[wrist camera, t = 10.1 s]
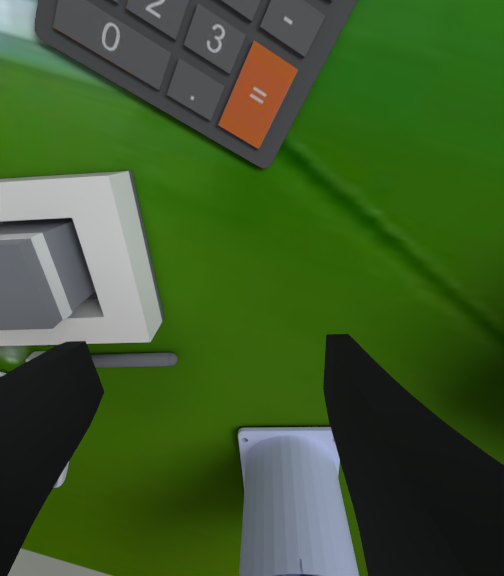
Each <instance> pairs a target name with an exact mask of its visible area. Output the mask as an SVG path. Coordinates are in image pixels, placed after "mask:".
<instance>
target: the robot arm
mask: <svg viewBox="0 0 504 576" xmlns="http://www.w3.org/2000/svg"><path fill="white" fill-rule="evenodd" d="M323 389H324V395H325V401H326V407H327V413H328V418H329V423H330V427H261V428H241V429H239V430H238V441H239V450H240V458H241V467H242V475H243V483H244V505H243V522H242V538H241V555H240V571H239V576H359V573H358V568H357V564H356V559H355V555H354V550H353V545H352V541H351V536H350V531H349V527H348V522H347V517H346V513H345V508H344V503H343V499H342V494H341V489H340V485H339V480H338V473H339V463H340V462H341V465H342V469H343V472H344V476H345V479H346V483H347V486H348V490H349V493H350V496H351V500H352V503H353V507H354V511H355V515H356V519H357V523H358V527H359V531H360V536H361V541H362V546H363V551H364V556H365V561H366V566H367V571H368V576H504V465H502V464H501V463H500V462H498V461H497V460H495V459H494V458H492V457H491V456H489V455H488V454H487V453H485V452H484V451H482V450H481V449H480V448H478V447H477V446H476V445H474V444H473V443H472V442H470V441H469V440H468V439H466V438H465V437H463V436H462V435H461V434H459V433H458V432H457V431H455V430H454V429H453V428H451V427H450V426H449V425H447V424H446V423H445V422H444V421H442V420H441V419H440V418H439V417H437V416H436V415H435V414H434V413H432V412H431V411H430V410H429V409H428V408H426V407H425V406H424V405H423V404H422V403H420V402H419V401H418V400H417V399H416V398H414V397H413V396H412V395H411V394H410V393H409V392H408V391H406V390H405V389H404V388H403V387H402V386H401V385H400V384H399V383H398V382H397V381H396V380H394V379H393V378H392V377H391V376H390V375H389V374H388V373H387V372H386V371H385V370H384V369H383V368H382V367H381V366H380V365H379V364H378V363H377V362H376V361H375V360H374V359H373V358H372V357H371V356H370V355H369V354H368V353H367V352H366V351H365V350H364V349H363V348H362V347H361V346H360V345H359V344H358V343H357V342H356V341H355V340H354V339H353V338H352V337H351V336H350V335H349V334H333V335H326V352H325V370H324V387H323ZM103 394H104V390H103V387H102V384H101V382H100V379H99V376H98V374H97V371H96V368H95V365H94V363H93V360H92V357H91V355H90V352H89V349H88V346H87V344H86V341H70V342H64V343H62V344H60V345H58V346H56V347H54V348H52V349H50V350H48V351H46V352H44V353H42V354H41V355H39V356H37V357H35V358H33V359H31V360H30V361H28V362H26V363H24V364H23V365H21V366H19V367H17V368H15V369H14V370H12V371H10V372H8V373H7V374H5V375H3V376H1V377H0V576H7V575H8V573H9V571H10V569H11V567H12V565H13V563H14V561H15V559H16V556H17V555H18V552H19V550H20V548H21V546H22V544H23V542H24V540H25V538H26V536H27V534H28V532H29V530H30V528H31V526H32V524H33V522H34V520H35V518H36V517H37V515H38V513H39V511H40V509H41V507H42V506H43V504H44V502H45V500H46V499H47V497H48V495H49V494H50V492H51V490H52V489H53V487H54V485H55V484H56V482H57V480H58V479H59V477H60V475H61V474H62V472H63V470H64V469H65V467H66V465H67V463H68V462H69V460H70V458H71V457H72V455H73V453H74V452H75V450H76V448H77V447H78V445H79V443H80V441H81V440H82V438H83V436H84V435H85V433H86V431H87V429H88V428H89V426H90V424H91V422H92V420H93V417H94V415H95V413H96V411H97V408H98V406H99V404H100V401H101V399H102V396H103Z"/></svg>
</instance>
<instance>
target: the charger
mask: <svg viewBox="0 0 504 576" xmlns="http://www.w3.org/2000/svg"><path fill="white" fill-rule="evenodd" d="M95 291H96V290H95V287H94V284H93V281H92V278H91V275H90V272H89V269H88V266H87V262H86V259H85V256H84V253H83V250H82V247H81V244H80V241H79V238H78V234H77V231H76V228H75V225H74V222H73V219H72V218H56V219H37V220H19V221H9V222H6V223H3V224H0V330H29V329H53V328H54V327H55V326H56V325H58V324H59V323H60V322H61V321H64V320H65V319H67V318H68V317H69V316H70V315H71V314H72V311H73V310H74V309H76V308H77V307H78V306H79V305H80V304H81V303H82V302H83V301H85V300H86V299H87V298H88V297H89V296H90V295H91V294H92V293H94V292H95Z"/></svg>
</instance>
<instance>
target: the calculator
mask: <svg viewBox="0 0 504 576" xmlns="http://www.w3.org/2000/svg"><path fill="white" fill-rule="evenodd" d="M356 2H357V0H38V6H37V12H36V18H35V32H36V34H37V36H38V37H39V38H40V39H41V40H43V41H44V42H46V43H47V44H49V45H51V46H53V47H54V48H56V49H58V50H59V51H61V52H63V53H65V54H66V55H68V56H70V57H71V58H73V59H75V60H77V61H78V62H80V63H82V64H83V65H85V66H87V67H89V68H90V69H92V70H94V71H95V72H97V73H99V74H101V75H102V76H104V77H106V78H107V79H109V80H111V81H113V82H114V83H116V84H118V85H119V86H121V87H123V88H125V89H126V90H128V91H130V92H131V93H133V94H135V95H137V96H138V97H140V98H142V99H143V100H145V101H147V102H149V103H150V104H152V105H154V106H155V107H157V108H159V109H161V110H162V111H164V112H166V113H168V114H169V115H171V116H173V117H174V118H176V119H178V120H180V121H181V122H183V123H185V124H186V125H188V126H190V127H192V128H193V129H195V130H197V131H198V132H200V133H202V134H204V135H205V136H207V137H209V138H210V139H212V140H214V141H216V142H217V143H219V144H221V145H222V146H224V147H226V148H228V149H229V150H231V151H233V152H234V153H236V154H238V155H240V156H241V157H243V158H245V159H246V160H248V161H250V162H252V163H253V164H255V165H257V166H258V167H261V168H268V167H269V166H270V165H271V163H272V162H273V160H274V158H275V156H276V154H277V152H278V150H279V148H280V147H281V145H282V143H283V141H284V139H285V137H286V135H287V133H288V131H289V129H290V127H291V126H292V124H293V122H294V120H295V118H296V116H297V114H298V112H299V110H300V108H301V107H302V105H303V103H304V101H305V99H306V97H307V95H308V93H309V91H310V89H311V87H312V86H313V84H314V82H315V80H316V78H317V76H318V74H319V72H320V70H321V68H322V67H323V65H324V63H325V61H326V59H327V57H328V55H329V53H330V51H331V49H332V47H333V46H334V44H335V42H336V40H337V38H338V36H339V34H340V32H341V30H342V28H343V27H344V25H345V23H346V21H347V19H348V17H349V15H350V13H351V11H352V9H353V7H354V6H355V4H356Z"/></svg>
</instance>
